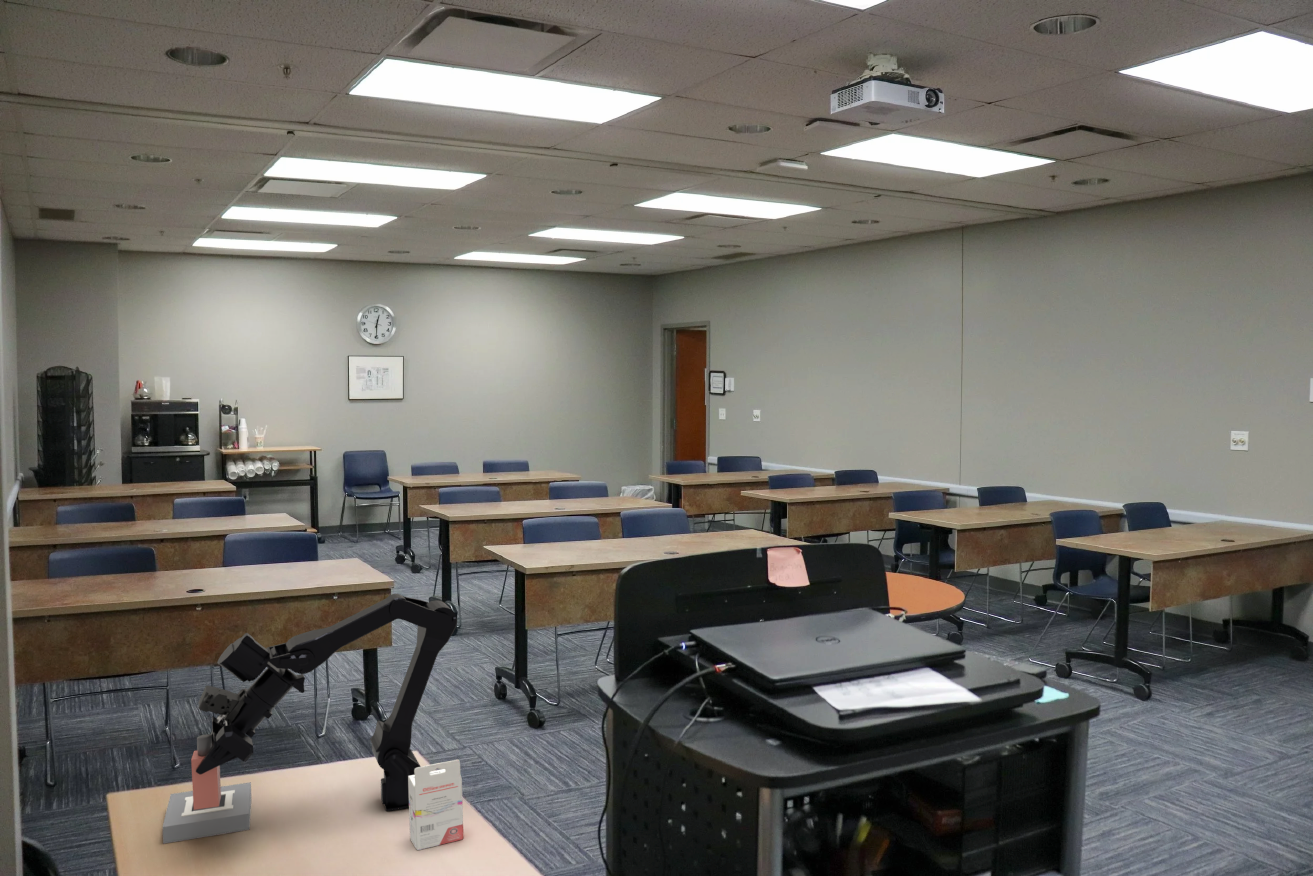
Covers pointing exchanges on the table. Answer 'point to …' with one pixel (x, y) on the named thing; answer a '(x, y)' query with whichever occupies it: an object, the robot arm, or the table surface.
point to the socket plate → (207, 814)
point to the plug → (205, 777)
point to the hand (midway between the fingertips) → (197, 768)
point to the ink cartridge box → (435, 805)
